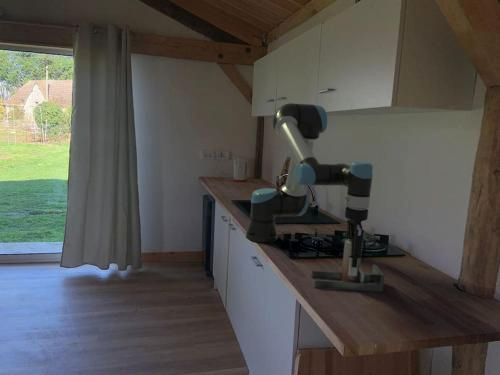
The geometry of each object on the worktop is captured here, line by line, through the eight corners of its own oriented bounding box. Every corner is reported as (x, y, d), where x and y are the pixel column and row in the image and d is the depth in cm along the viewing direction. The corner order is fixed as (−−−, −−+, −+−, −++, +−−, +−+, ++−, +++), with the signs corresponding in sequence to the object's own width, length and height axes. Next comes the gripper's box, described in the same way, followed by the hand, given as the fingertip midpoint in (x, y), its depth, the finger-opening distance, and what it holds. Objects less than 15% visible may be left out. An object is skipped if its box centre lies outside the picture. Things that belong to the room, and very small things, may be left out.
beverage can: (345, 277, 146) (349, 237, 143) (360, 282, 142) (365, 241, 139) (337, 281, 141) (341, 240, 139) (353, 287, 138) (358, 245, 135)
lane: (310, 276, 147) (312, 260, 146) (374, 280, 147) (376, 264, 145) (314, 287, 137) (316, 270, 136) (382, 291, 137) (384, 275, 136)
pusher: (355, 280, 145) (356, 267, 144) (364, 280, 145) (366, 267, 144) (359, 288, 138) (361, 274, 138) (369, 288, 138) (371, 274, 137)
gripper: (340, 201, 146) (334, 261, 150) (352, 213, 128) (345, 281, 132) (361, 202, 146) (354, 262, 150) (375, 214, 128) (368, 283, 132)
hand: (350, 271), depth 141 cm, fingers closed on beverage can, 6 cm apart
